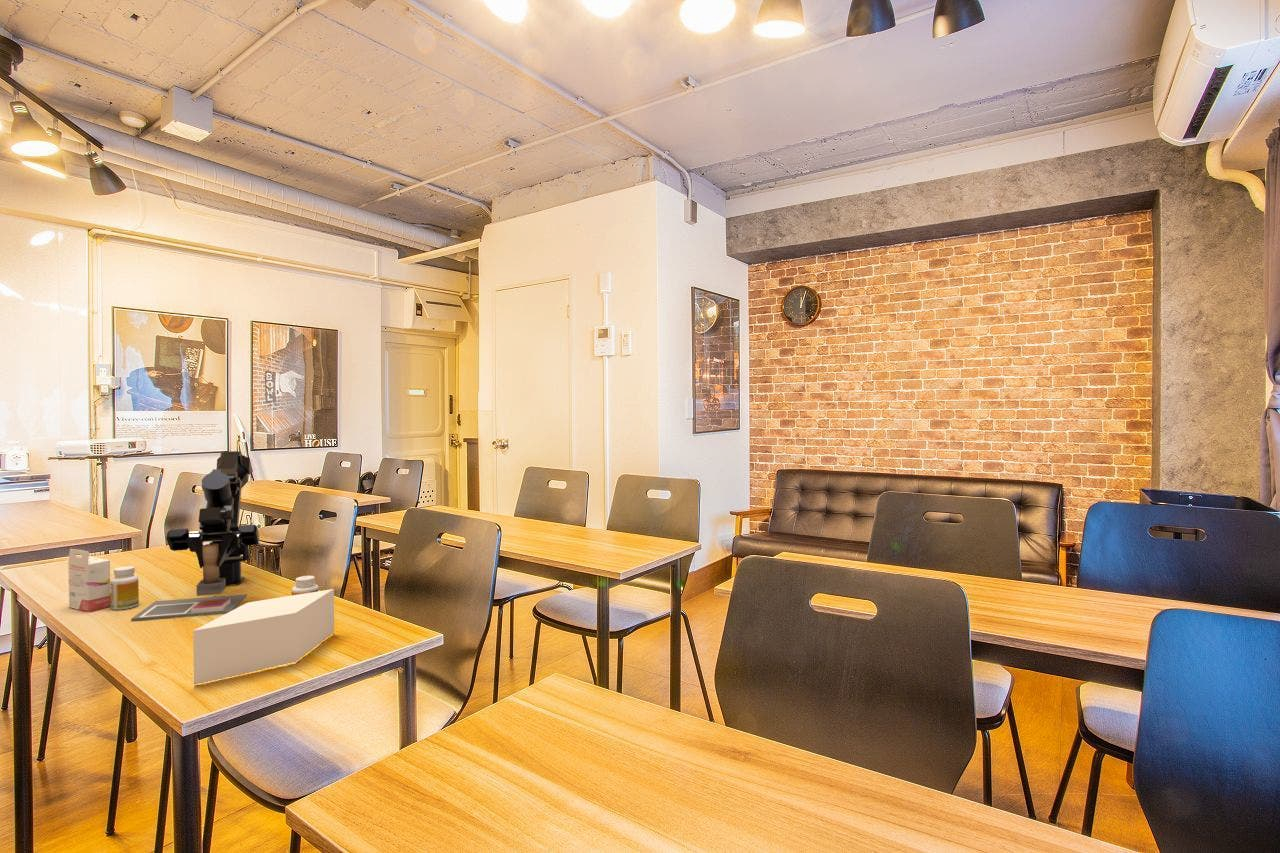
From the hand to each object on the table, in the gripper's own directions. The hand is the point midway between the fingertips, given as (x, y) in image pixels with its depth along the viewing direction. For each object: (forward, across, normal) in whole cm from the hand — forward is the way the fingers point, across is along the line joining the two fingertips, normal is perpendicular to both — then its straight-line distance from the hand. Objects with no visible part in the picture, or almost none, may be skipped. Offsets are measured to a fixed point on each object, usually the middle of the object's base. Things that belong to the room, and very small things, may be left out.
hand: (209, 566), depth 153 cm
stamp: (+4, 0, +6) cm, 7 cm away
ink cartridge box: (-3, -28, +19) cm, 34 cm away
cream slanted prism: (+35, +17, -18) cm, 43 cm away
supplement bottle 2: (+19, +22, -3) cm, 29 cm away
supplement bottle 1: (-1, -20, +17) cm, 26 cm away
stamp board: (+4, -5, +12) cm, 13 cm away
